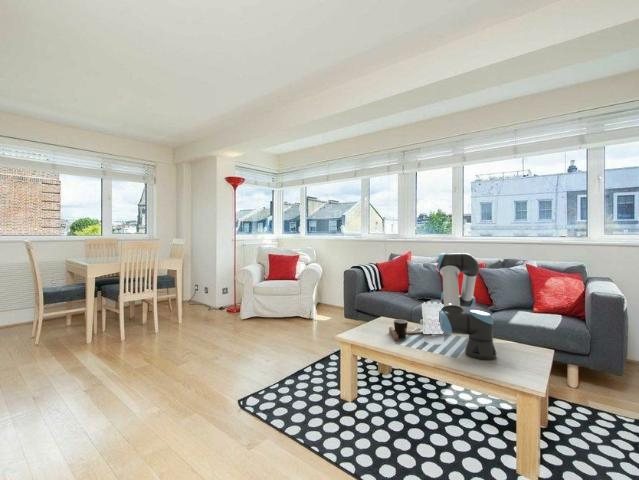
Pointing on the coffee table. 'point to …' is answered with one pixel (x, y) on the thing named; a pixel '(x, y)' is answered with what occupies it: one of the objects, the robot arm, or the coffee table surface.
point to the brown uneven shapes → (395, 336)
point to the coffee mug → (401, 328)
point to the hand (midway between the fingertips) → (424, 323)
